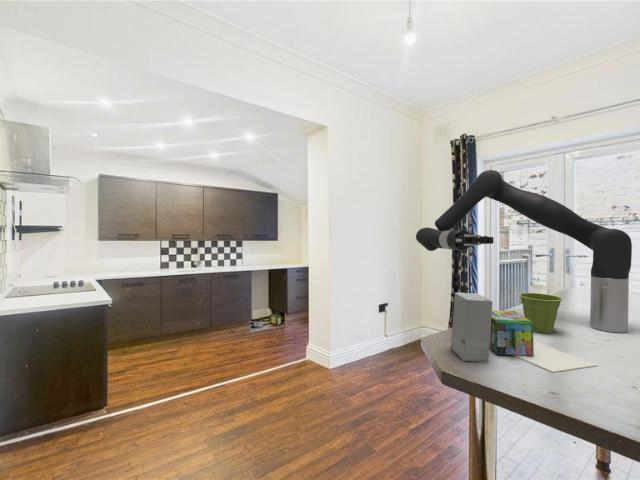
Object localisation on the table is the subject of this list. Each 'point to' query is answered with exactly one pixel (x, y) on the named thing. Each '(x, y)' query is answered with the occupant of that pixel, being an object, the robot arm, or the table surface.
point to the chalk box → (511, 334)
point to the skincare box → (471, 326)
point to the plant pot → (540, 310)
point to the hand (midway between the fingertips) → (491, 240)
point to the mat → (554, 359)
